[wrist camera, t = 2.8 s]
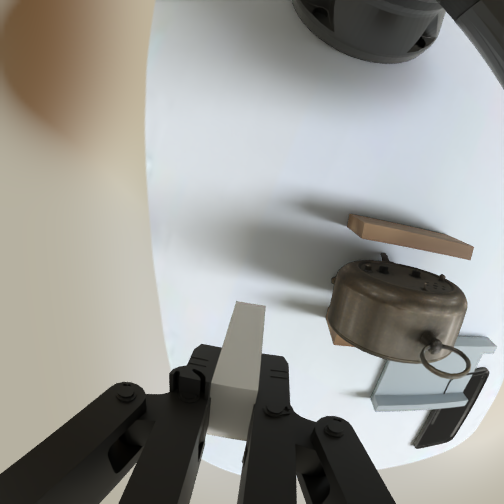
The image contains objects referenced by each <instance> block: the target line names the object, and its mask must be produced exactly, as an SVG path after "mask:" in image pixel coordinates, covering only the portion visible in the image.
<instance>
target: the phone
mask: <svg viewBox="0 0 504 504" xmlns="http://www.w3.org/2000/svg"><path fill="white" fill-rule="evenodd" d="M467 375H472V376H471V378H470V380H469V382H468V384H467V385H466V387H465V389H464V391H463V393H464V395H465V396H466V398H467V399H468V401H467V403H466V405H465V406H460V407H451V408H441V409H432V411H431V413H430V415H429V417H428V419H427V420H426V422H425V424H424V426H423V428H422V429H421V431H420V433H419V435H418V436H417V438H416V440H415V441H414V446H415V448H416V449H419V448H424V447H429V446H434V445H438V444H442V443H446V442H449V441H450V440H452V439H453V438H454V436H455V435H456V433H457V432H458V430H459V429H460V427H461V425H462V424H463V422H464V420H465V419H466V417H467V415H468V414H469V412H470V410H471V409H472V407H473V405H474V403H475V401H476V399H477V398H478V396H479V394H480V392H481V390H482V388H483V386H484V384H485V382H486V380H487V378H488V376H489V371H488V369H487V368H485V367H483V368H478V369H475V371H474V372H471V373H468V374H467ZM452 380H453V379H451V380H450V381H449V383H448V385H447V387H446V389H445V391H444V393H443V394H445V392H446V390H447V388H448V386H449V384H450V382H451V381H452Z"/></svg>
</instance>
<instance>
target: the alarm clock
mask: <svg viewBox="0 0 504 504" xmlns="http://www.w3.org/2000/svg"><path fill="white" fill-rule="evenodd" d="M381 258H382V261H374V260H361V261H354V262H350V263H348V264H346V265H344V266H343V267H342V268H341V269H340V270H339V271H338V273H337V276H336V277H333V278H332V279H331V282H332V283H333V284H335V285H334V289H333V294H332V299H331V303H330V308H329V312H328V321H329V324H330V326H331V327H332V329H333V330H334V331H335V332H336V333H337V334H338V335H339V336H340V337H341V338H342V339H343V340H345V341H346V342H348V343H349V344H351V345H353V346H354V347H356V348H358V349H360V350H362V351H364V352H367V353H369V354H371V355H374V356H377V357H380V358H383V359H386V360H390V361H394V362H400V363H409V364H423V365H424V367H425V368H426V369H427V370H429V371H430V372H431V373H433V374H435V375H437V376H439V377H441V378H446V379H459V378H462V377H465V376H466V375H467V374H468V373H469V371H470V369H471V362H470V360H469V358H468V357H467V356H466V355H465V354H464V353H463V352H462V351H460V350H459V349H457V348H454V345H455V342H456V339H457V337H458V334H459V331H460V329H461V326H462V323H463V320H464V317H465V314H466V310H467V300H466V297H465V295H464V293H463V292H462V290H461V289H460V288H459V287H458V286H456V285H455V284H454V283H452V282H450V281H449V280H447V279H445V276H444V275H443V274H441V275H440V276H438V275H436V274H433V273H430V272H427V271H424V270H421V269H418V268H414V267H410V266H406V265H402V264H396V263H394V262H390V261H389V259H388V256H387V255H386V253H381ZM451 352H454V353H456V354H458V355H459V356H461V357H462V358H463V359H464V361H465V362H466V368H465V370H464V371H462V372H460V373H453V374H451V373H447V372H444V371H441V370H438V369H436V368H435V367H434V366H432V365H430V364H429V363H433V362H437V361H439V360H442V359H444V358H446V357H447V356H449V355H450V354H451Z"/></svg>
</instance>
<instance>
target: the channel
mask: <svg viewBox="0 0 504 504" xmlns="http://www.w3.org/2000/svg"><path fill="white" fill-rule="evenodd" d="M347 227H348V228H349V229H351V230H352V231H353V232H354V233H355V234H357V235H358V236H359V237H360V238H362V239H367V240H373V241H378V242H383V243H389V244H394V245H399V246H404V247H409V248H414V249H419V250H424V251H429V252H434V253H439V254H444V255H449V256H453V257H458V258H463V259H467V260H471V256H472V253H473V249H474V247H473V246H471V245H469V244H466V243H464V242H462V241H460V240H458V239H455V238H453V237H451V236H449V235H445V234H441V233H437V232H433V231H429V230H425V229H420V228H416V227H411V226H407V225H402V224H398V223H393V222H388V221H384V220H379V219H374V218H369V217H364V216H359V215H354V214H349V219H348V224H347ZM329 308H330V307H329ZM329 308H328V311H327V315H326V320H327V324H328V327H329V331H330V334H331V337H332V341H333V344H334V345H341V346H351V347H354V346H353V345H351V344H349V343H348V342H346V341H345V340H343V339H342V338H341V337H340V336H339V335H338V334H337V333H336V332H335V331H334V330H333V329H332V327H331V326H330V324H329V321H328V312H329Z"/></svg>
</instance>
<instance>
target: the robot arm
mask: <svg viewBox="0 0 504 504" xmlns="http://www.w3.org/2000/svg"><path fill="white" fill-rule="evenodd" d="M292 2H293V5H294V8H295V10H296V12H297V14H298V16H299V17H300V19H301V20H302V21H303V23H304V24H305V25H306V26H307V27H308V28H309V29H310V30H311V31H312V32H313V33H314V34H315V35H316V36H317V37H319V38H320V39H321V40H323V41H324V42H325V43H327V44H328V45H330V46H332V47H333V48H335V49H337V50H339V51H341V52H343V53H345V54H347V55H350V56H352V57H355V58H358V59H361V60H365V61H369V62H374V63H383V64H395V63H402V62H406V61H409V60H412V59H414V58H416V57H417V56H419V55H420V54H422V53H423V52H424V51H425V50H427V49H428V48H429V47H430V46H431V45H432V44H433V43H434V41H435V40H436V38H437V36H438V34H439V31H440V28H441V25H442V22H443V19H444V15H445V12H447V13H448V14H449V15H450V16H451V17H452V18H453V20H454V21H455V23H456V24H457V25H458V26H459V27H460V28H461V30H462V31H463V32H464V33H465V35H466V36H467V37H468V38H469V40H470V41H471V42H472V44H473V45H474V46H475V48H476V49H477V50H478V52H479V53H480V54H481V56H482V57H483V59H484V60H485V61H486V63H487V64H488V66H489V67H490V69H491V70H492V72H493V73H494V75H495V76H496V78H497V80H498V81H499V83H500V84H501V86H502V88H503V89H504V0H292ZM265 308H266V306H263V305H257V304H250V303H244V302H238V301H236V304H235V308H234V311H233V314H232V317H231V320H230V324H229V327H228V330H227V333H226V337H225V340H224V343H223V346H222V348H221V347H215V346H210V345H205V344H201V345H200V346H198V347H197V348H195V349H194V351H193V353H192V355H191V358H190V360H189V362H188V364H187V366H180V367H177V368H175V369H173V370H172V371H171V372H170V373H169V383H170V384H169V385H170V392H169V393H165V394H145V392H144V390H143V388H141V387H140V386H139V385H137V384H134V383H131V382H122V383H117V384H115V385H113V386H111V387H110V388H109V389H108V390H106V391H105V392H104V393H103V394H102V395H100V396H99V397H98V398H96V399H95V400H94V401H93V402H91V403H90V404H89V405H88V406H87V407H85V408H84V409H83V410H81V411H80V412H79V413H78V414H76V415H75V416H74V417H73V418H71V419H70V420H69V421H68V422H66V423H65V424H64V425H63V426H62V427H60V428H59V429H58V430H56V431H55V432H54V433H52V434H51V435H50V436H49V437H48V438H46V439H45V440H44V441H43V442H41V443H40V444H39V445H37V446H36V447H35V448H34V449H32V450H31V451H30V452H28V453H27V454H26V455H25V456H23V457H22V458H21V459H19V460H18V461H17V462H15V463H14V464H13V465H11V466H10V467H9V468H8V469H6V470H5V471H4V472H3V473H1V474H0V504H99V503H100V502H101V501H102V500H103V499H104V498H105V497H106V496H107V495H108V494H109V493H110V491H111V490H112V489H113V488H114V487H115V486H116V485H117V484H118V483H119V482H120V481H121V479H122V478H123V477H124V476H125V475H126V474H127V473H128V472H129V470H130V469H131V468H132V467H133V466H134V465H135V463H137V464H136V466H135V468H134V470H133V473H132V475H131V477H130V479H129V481H128V484H127V486H126V488H125V490H124V492H123V495H122V497H121V499H120V501H119V504H189V503H190V499H191V495H192V491H193V488H194V484H195V480H196V476H197V473H198V469H199V465H200V461H201V457H202V454H203V450H204V446H205V436H206V433H207V434H209V435H214V436H219V437H225V438H231V439H237V440H243V441H247V442H246V447H245V452H244V456H243V460H242V463H243V466H242V473H241V480H240V487H239V494H238V501H237V504H297V501H296V498H297V496H296V475H297V478H298V481H299V484H300V487H301V490H302V492H303V495H304V498H305V501H306V504H396V503H395V501H394V499H393V498H392V496H391V494H390V492H389V491H388V489H387V487H386V486H385V484H384V482H383V480H382V478H381V477H380V475H379V473H378V471H377V470H376V468H375V466H374V464H373V463H372V461H371V459H370V457H369V455H368V454H367V452H366V450H365V448H364V447H363V445H362V443H361V441H360V440H359V438H358V436H357V434H356V433H355V431H354V429H353V427H352V426H351V425H350V424H349V422H347V421H346V420H344V419H342V418H339V417H336V416H326V417H323V418H321V419H319V420H318V421H317V422H314V421H311V420H308V419H305V418H303V417H301V416H299V415H298V414H296V413H295V412H294V411H293V408H292V407H291V405H290V391H289V367H288V363H287V361H286V360H285V358H284V357H283V356H276V355H269V354H262V343H263V331H264V320H265Z"/></svg>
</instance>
